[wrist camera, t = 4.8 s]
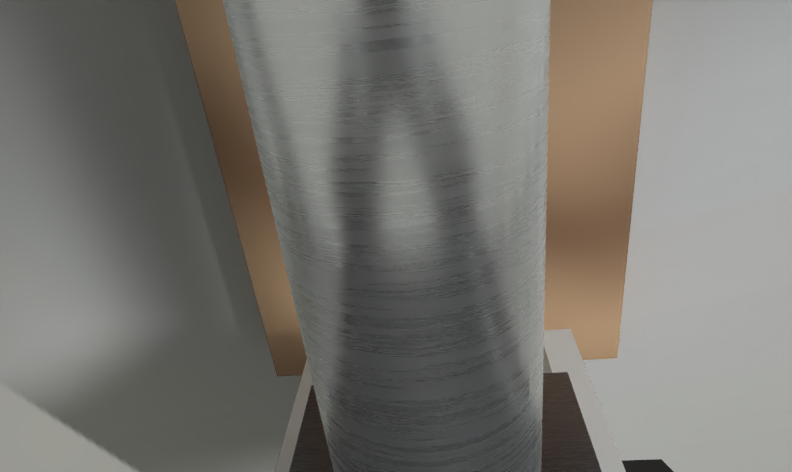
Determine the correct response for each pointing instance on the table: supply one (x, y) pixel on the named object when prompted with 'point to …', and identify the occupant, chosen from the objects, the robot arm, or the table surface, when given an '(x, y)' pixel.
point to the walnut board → (566, 168)
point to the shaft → (413, 228)
